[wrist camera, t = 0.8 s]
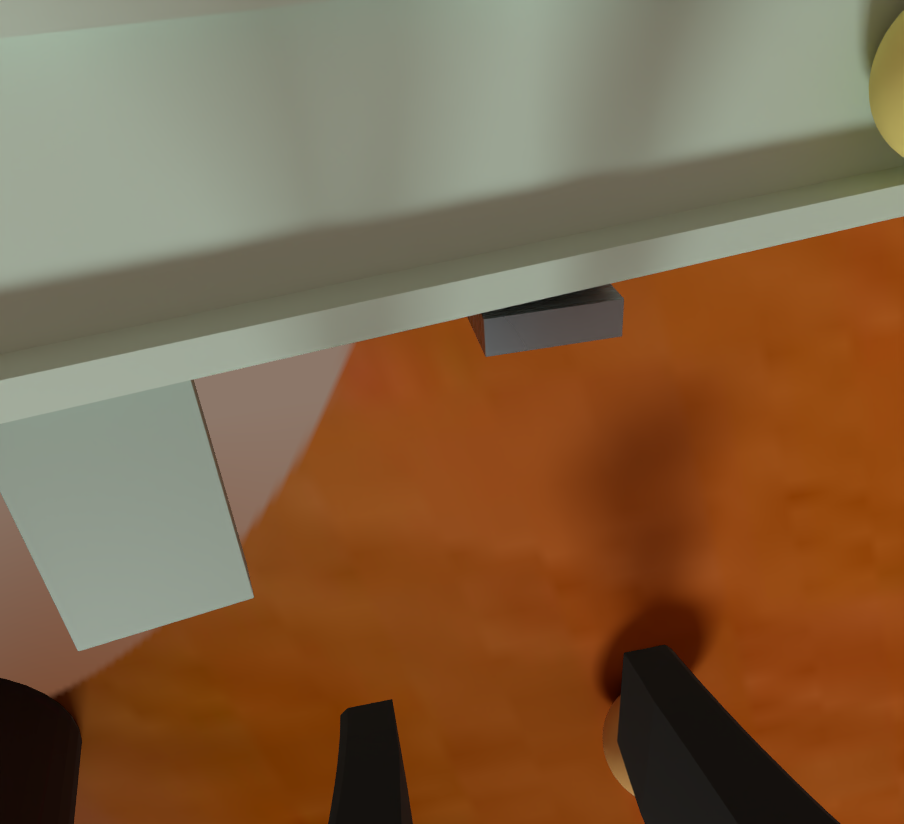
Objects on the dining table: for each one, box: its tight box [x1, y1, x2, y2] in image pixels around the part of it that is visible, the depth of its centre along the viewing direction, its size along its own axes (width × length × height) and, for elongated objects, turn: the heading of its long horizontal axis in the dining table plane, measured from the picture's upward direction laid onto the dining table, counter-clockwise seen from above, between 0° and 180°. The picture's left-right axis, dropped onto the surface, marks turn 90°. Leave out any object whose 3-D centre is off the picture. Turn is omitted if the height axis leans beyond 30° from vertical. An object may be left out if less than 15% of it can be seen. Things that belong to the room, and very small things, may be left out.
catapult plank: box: [0, 0, 904, 651], centre depth 13 cm, size 18×10×2 cm, turn 93°
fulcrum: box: [467, 284, 624, 357], centre depth 14 cm, size 5×8×6 cm, turn 4°
